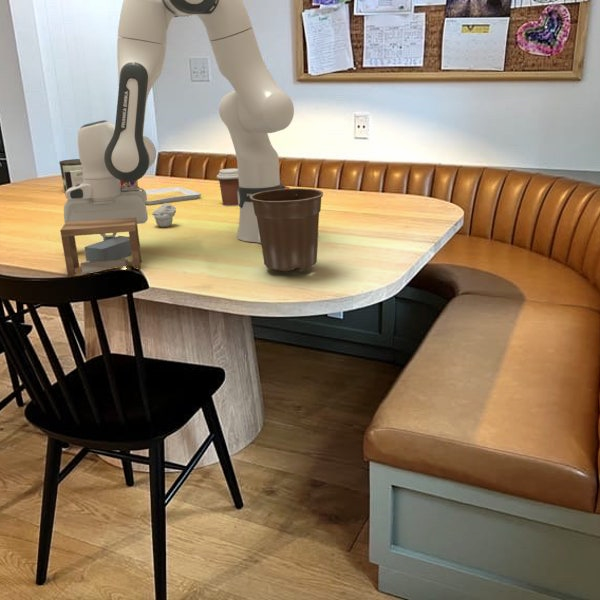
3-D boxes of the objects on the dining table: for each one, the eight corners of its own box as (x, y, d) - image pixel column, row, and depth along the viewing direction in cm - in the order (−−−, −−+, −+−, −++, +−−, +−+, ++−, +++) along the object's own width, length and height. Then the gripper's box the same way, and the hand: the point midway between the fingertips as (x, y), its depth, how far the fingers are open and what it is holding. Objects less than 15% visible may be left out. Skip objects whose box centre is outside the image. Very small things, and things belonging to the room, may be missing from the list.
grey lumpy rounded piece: (178, 228, 185) (175, 204, 183) (153, 230, 184) (150, 206, 182) (177, 224, 191) (175, 201, 188) (153, 226, 190) (151, 202, 187)
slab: (121, 250, 164) (119, 235, 162) (139, 253, 161) (137, 237, 160) (86, 262, 154) (84, 246, 153) (104, 265, 151) (102, 249, 150)
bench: (72, 266, 150) (65, 222, 147) (141, 260, 153) (136, 217, 149) (67, 275, 143) (60, 230, 139) (140, 269, 146) (134, 224, 142)
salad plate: (203, 202, 226) (203, 192, 225) (147, 210, 215) (146, 200, 214) (179, 194, 243) (178, 185, 242) (125, 202, 232) (124, 192, 231)
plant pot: (242, 271, 141) (237, 199, 136) (271, 252, 155) (267, 187, 150) (310, 276, 136) (308, 201, 130) (334, 256, 150) (332, 188, 144)
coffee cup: (248, 206, 214) (246, 170, 210) (222, 209, 211) (219, 172, 207) (241, 201, 222) (239, 167, 218) (216, 204, 219) (213, 169, 215)
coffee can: (59, 199, 241) (53, 161, 236) (82, 194, 249) (76, 158, 244) (76, 201, 235) (70, 162, 231) (98, 196, 243) (93, 159, 238)
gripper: (145, 184, 162) (151, 236, 167) (62, 189, 159) (71, 242, 163) (144, 187, 156) (151, 242, 161) (58, 193, 153) (67, 248, 158)
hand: (110, 242), depth 162 cm, fingers closed
